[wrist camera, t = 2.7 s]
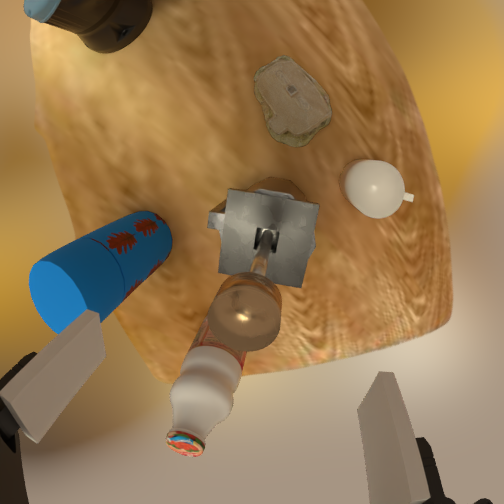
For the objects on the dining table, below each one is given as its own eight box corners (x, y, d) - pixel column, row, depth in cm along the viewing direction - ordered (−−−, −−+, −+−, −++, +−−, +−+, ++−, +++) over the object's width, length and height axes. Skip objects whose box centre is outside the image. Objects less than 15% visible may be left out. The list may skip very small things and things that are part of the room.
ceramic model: (345, 122, 39) (360, 114, 30) (285, 157, 43) (284, 157, 33) (294, 52, 36) (295, 27, 27) (236, 86, 40) (221, 69, 30)
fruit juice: (243, 302, 52) (203, 427, 26) (257, 343, 54) (231, 467, 28) (197, 310, 54) (134, 422, 28) (213, 348, 56) (168, 462, 30)
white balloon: (343, 154, 41) (356, 154, 33) (400, 169, 40) (423, 173, 32) (335, 200, 44) (345, 211, 35) (390, 213, 43) (411, 227, 35)
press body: (234, 171, 44) (203, 181, 28) (313, 184, 43) (326, 202, 27) (226, 231, 48) (194, 271, 32) (301, 244, 47) (306, 292, 31)
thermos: (184, 235, 49) (103, 306, 26) (155, 277, 53) (79, 356, 29) (138, 198, 48) (36, 239, 24) (114, 241, 51) (23, 299, 28)
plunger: (238, 193, 31) (177, 242, 14) (309, 205, 30) (332, 271, 14) (229, 259, 34) (175, 358, 17) (295, 271, 33) (297, 383, 16)
